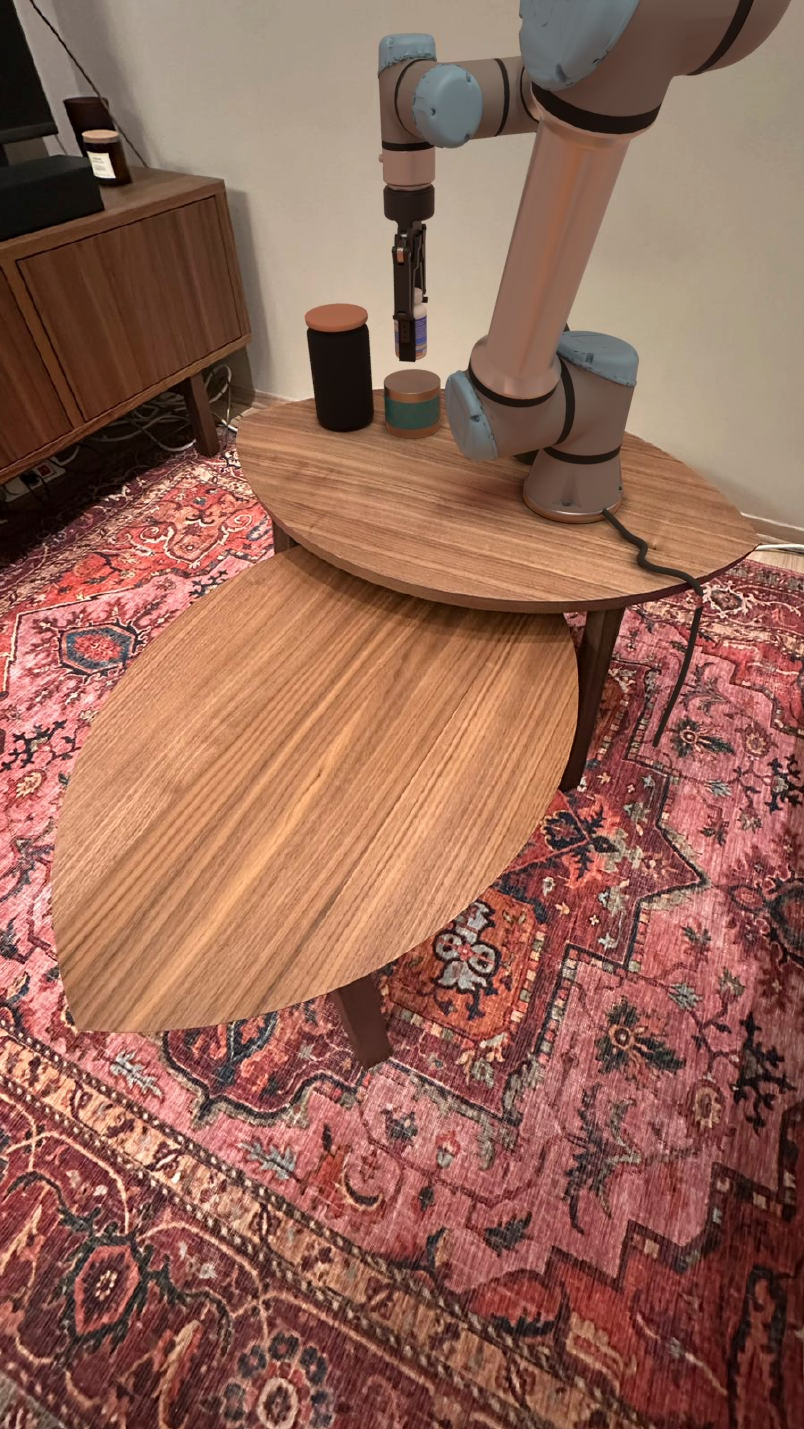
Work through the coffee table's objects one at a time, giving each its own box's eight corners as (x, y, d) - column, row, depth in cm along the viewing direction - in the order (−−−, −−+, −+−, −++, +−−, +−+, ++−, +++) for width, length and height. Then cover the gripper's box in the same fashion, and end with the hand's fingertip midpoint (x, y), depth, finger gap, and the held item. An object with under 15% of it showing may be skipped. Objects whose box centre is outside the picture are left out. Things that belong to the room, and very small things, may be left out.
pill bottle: (428, 349, 118) (428, 285, 111) (425, 362, 115) (425, 296, 107) (396, 348, 119) (394, 285, 111) (393, 361, 115) (391, 296, 108)
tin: (450, 430, 124) (451, 385, 118) (400, 443, 121) (398, 398, 115) (424, 408, 130) (424, 364, 124) (376, 420, 127) (373, 376, 121)
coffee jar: (341, 402, 133) (331, 299, 119) (385, 416, 128) (380, 310, 115) (305, 424, 127) (290, 318, 114) (350, 439, 123) (340, 330, 109)
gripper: (398, 169, 105) (402, 331, 123) (367, 199, 94) (376, 374, 111) (446, 170, 104) (443, 334, 122) (421, 201, 92) (421, 378, 110)
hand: (411, 353), depth 116 cm, fingers closed on pill bottle, 5 cm apart
